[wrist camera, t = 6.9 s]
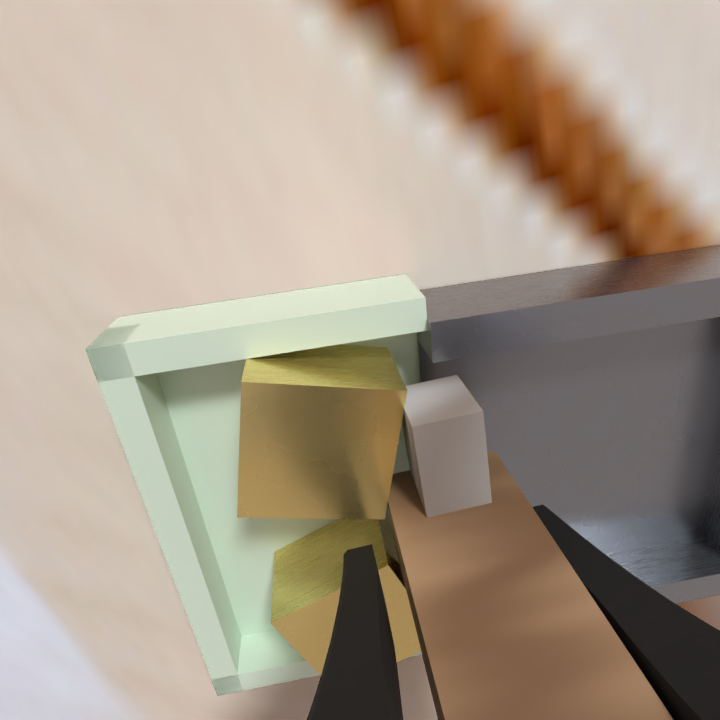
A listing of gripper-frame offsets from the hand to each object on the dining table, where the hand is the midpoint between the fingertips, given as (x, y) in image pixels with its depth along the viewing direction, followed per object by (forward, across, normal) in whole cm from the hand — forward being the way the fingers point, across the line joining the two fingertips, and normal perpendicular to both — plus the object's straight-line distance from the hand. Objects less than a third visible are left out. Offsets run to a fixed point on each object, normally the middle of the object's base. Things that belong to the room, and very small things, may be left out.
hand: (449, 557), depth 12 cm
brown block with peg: (+2, 0, 0) cm, 2 cm away
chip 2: (+3, +3, +3) cm, 5 cm away
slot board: (+4, -6, 0) cm, 7 cm away
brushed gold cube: (+3, +2, -3) cm, 5 cm away
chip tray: (+4, +4, 0) cm, 5 cm away
